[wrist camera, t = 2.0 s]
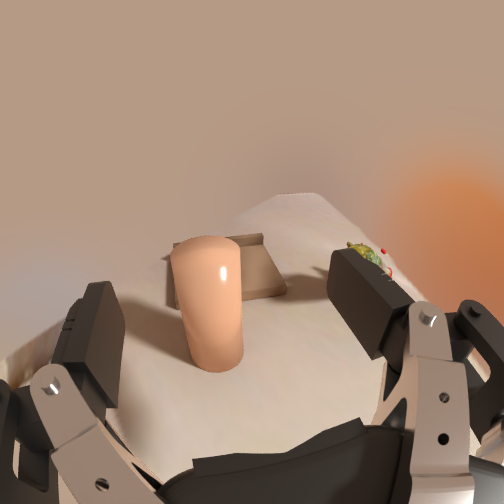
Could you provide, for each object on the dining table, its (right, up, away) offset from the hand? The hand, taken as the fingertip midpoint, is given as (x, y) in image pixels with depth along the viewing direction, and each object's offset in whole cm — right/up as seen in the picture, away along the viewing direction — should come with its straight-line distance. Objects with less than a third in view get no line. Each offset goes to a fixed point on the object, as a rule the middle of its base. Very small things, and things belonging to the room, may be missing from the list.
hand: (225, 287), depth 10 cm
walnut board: (-3, -2, +30) cm, 30 cm away
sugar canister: (-3, -9, +18) cm, 20 cm away
